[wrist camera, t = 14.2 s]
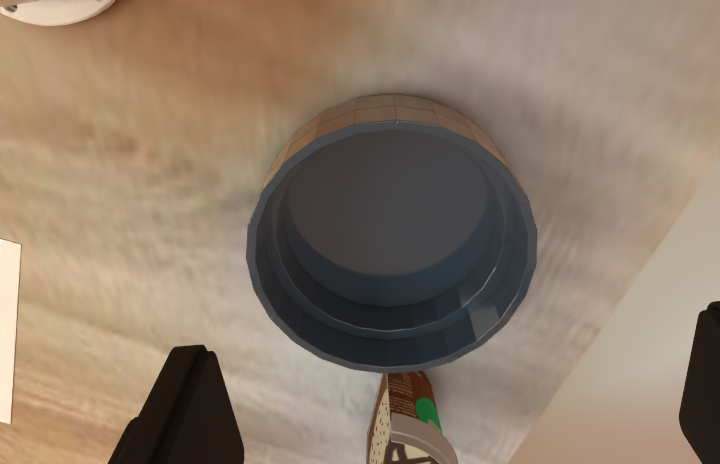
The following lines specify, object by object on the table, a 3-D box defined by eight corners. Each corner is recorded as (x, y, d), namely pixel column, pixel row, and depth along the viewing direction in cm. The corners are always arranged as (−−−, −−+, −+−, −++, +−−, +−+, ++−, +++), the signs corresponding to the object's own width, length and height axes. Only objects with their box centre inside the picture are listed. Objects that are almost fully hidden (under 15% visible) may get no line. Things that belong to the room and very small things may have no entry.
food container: (429, 453, 52) (440, 557, 43) (364, 444, 52) (362, 548, 43) (461, 351, 46) (482, 447, 37) (389, 340, 46) (392, 435, 37)
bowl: (288, 327, 45) (276, 382, 40) (240, 109, 37) (216, 139, 31) (512, 308, 44) (533, 362, 38) (514, 78, 36) (541, 103, 30)
